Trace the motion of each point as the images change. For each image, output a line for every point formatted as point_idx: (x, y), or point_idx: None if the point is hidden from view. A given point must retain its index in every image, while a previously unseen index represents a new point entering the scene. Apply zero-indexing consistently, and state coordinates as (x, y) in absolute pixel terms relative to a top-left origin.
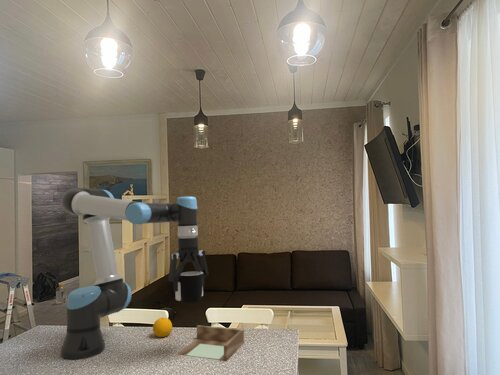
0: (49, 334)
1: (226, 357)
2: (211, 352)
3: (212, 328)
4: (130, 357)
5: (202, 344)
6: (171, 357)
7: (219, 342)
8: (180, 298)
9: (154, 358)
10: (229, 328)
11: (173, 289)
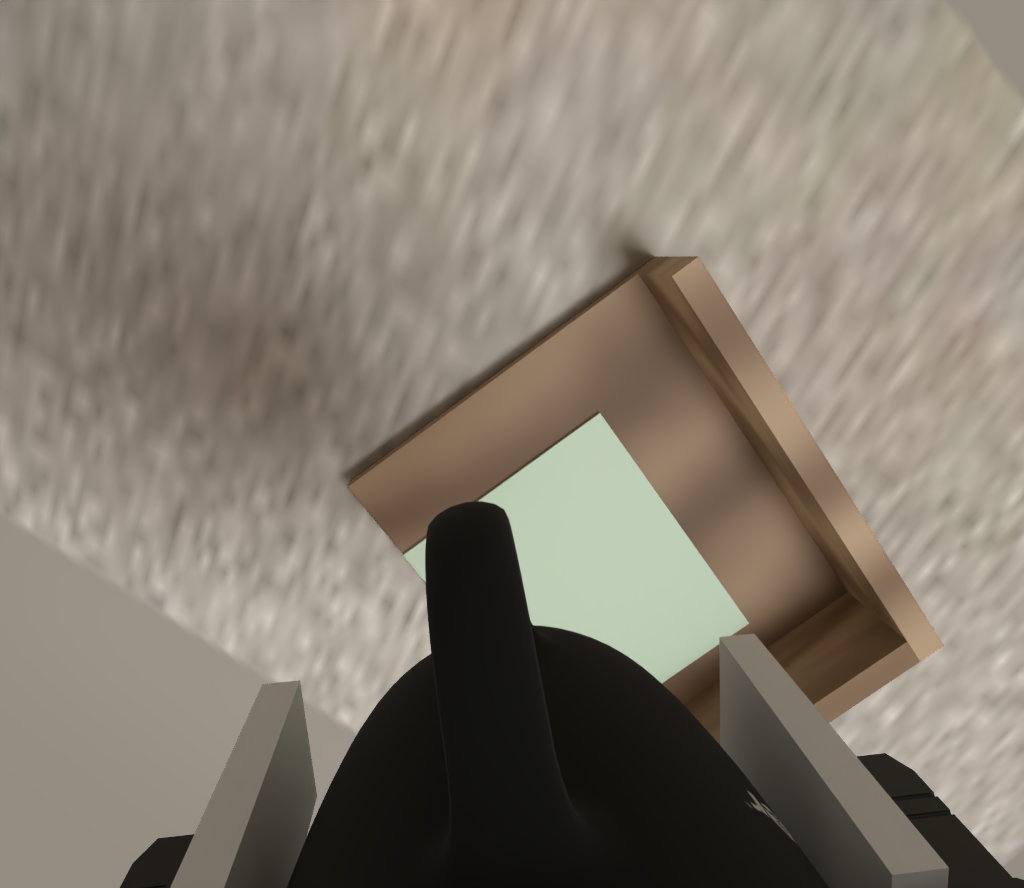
0: None
1: None
2: (581, 624)
3: (765, 423)
4: (12, 247)
5: (607, 440)
6: (318, 461)
7: (741, 476)
8: (304, 820)
9: (193, 397)
10: (871, 547)
11: (132, 875)
